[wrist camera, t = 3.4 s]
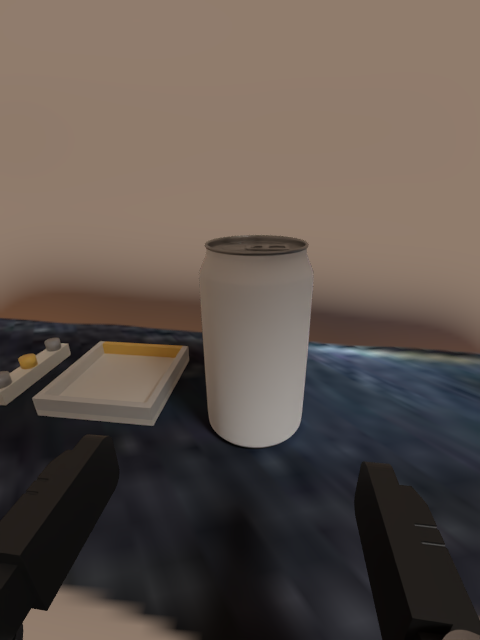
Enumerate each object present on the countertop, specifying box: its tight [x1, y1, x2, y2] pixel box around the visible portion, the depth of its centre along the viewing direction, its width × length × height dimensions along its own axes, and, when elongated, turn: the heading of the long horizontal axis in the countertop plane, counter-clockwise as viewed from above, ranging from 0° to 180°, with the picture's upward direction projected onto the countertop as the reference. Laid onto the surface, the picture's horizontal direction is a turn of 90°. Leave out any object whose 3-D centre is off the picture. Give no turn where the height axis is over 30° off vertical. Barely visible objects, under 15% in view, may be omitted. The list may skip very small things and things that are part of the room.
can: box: [199, 235, 314, 449], centre depth 19 cm, size 6×6×12 cm
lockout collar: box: [32, 341, 189, 426], centre depth 25 cm, size 9×9×2 cm
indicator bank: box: [0, 338, 71, 405], centre depth 26 cm, size 1×8×2 cm, turn 173°
